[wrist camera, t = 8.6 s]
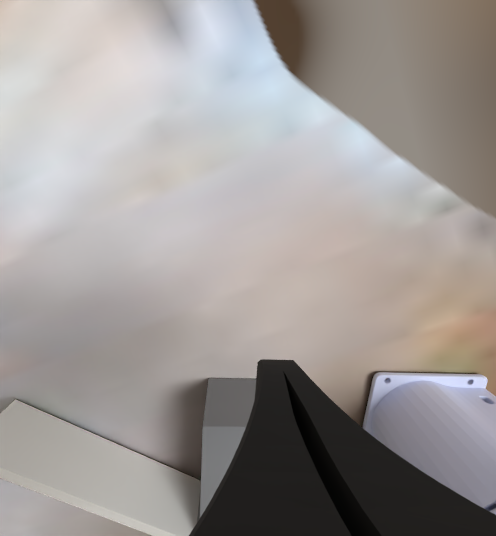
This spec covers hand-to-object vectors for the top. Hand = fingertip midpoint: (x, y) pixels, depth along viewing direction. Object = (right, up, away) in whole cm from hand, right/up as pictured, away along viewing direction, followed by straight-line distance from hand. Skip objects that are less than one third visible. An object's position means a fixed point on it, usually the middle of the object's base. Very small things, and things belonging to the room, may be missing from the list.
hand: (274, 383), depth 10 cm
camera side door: (-12, -10, +11) cm, 19 cm away
